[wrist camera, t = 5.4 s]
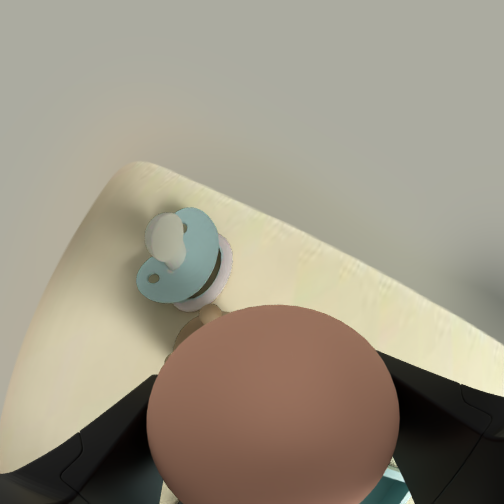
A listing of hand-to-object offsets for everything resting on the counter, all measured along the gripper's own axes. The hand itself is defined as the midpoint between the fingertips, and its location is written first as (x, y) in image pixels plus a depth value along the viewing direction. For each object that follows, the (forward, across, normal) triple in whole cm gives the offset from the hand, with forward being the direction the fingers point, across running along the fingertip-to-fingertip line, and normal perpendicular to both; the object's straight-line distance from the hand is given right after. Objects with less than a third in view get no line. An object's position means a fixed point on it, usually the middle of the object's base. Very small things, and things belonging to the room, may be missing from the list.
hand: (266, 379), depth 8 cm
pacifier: (+14, +4, 0) cm, 15 cm away
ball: (-2, 0, 0) cm, 2 cm away
